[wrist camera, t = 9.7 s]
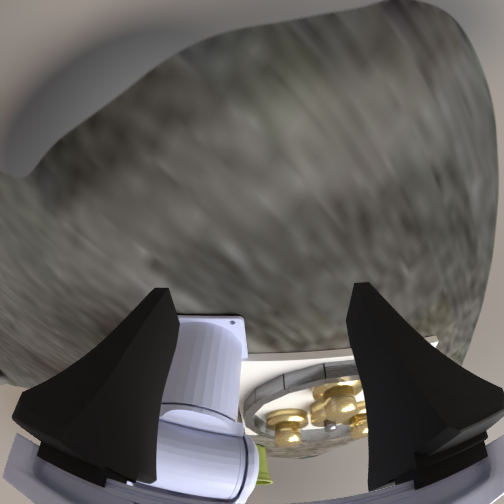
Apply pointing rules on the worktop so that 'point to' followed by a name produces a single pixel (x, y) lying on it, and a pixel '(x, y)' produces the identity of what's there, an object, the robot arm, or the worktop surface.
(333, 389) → the gear
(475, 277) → the worktop surface
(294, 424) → the sun and planets
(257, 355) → the board
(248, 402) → the ring gear
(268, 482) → the plant pot
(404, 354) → the robot arm
